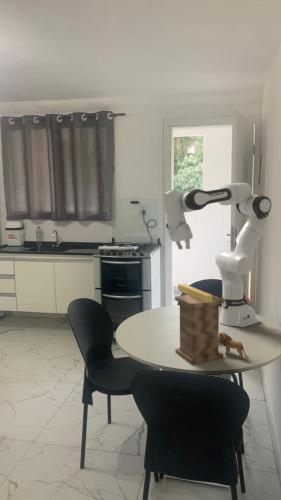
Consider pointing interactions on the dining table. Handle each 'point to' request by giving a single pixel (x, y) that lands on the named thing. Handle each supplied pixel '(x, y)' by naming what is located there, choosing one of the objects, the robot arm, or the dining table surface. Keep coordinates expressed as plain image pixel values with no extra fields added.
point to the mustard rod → (195, 293)
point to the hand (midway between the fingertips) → (184, 249)
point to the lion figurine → (231, 344)
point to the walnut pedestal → (199, 329)
